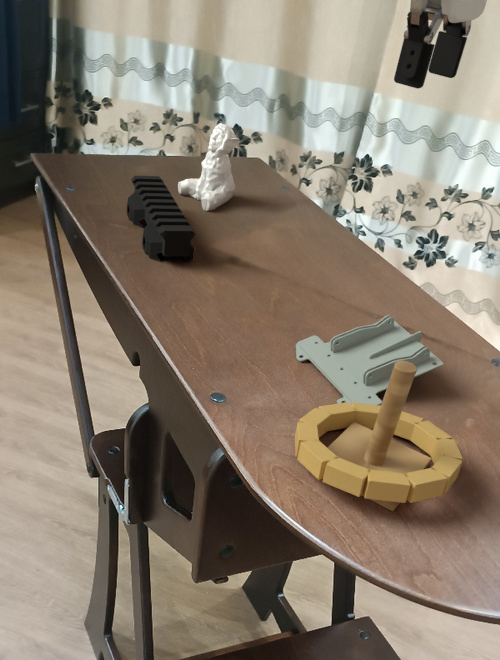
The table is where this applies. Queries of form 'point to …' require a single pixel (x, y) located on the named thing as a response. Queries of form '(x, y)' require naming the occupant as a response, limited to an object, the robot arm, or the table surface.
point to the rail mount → (159, 219)
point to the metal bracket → (366, 358)
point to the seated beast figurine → (214, 171)
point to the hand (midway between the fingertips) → (425, 79)
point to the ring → (374, 481)
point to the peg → (383, 434)
